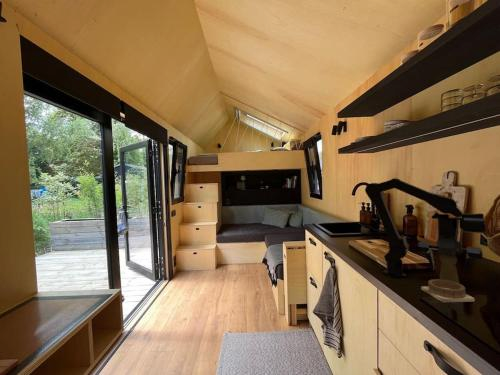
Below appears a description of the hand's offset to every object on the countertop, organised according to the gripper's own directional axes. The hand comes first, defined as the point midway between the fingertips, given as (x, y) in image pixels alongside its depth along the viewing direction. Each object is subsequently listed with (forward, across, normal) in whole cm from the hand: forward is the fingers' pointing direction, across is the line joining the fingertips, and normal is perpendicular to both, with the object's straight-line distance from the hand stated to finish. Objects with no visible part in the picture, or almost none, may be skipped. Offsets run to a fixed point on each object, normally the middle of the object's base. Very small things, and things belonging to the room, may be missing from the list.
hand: (448, 272), depth 93 cm
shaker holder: (+4, 0, -12) cm, 13 cm away
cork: (+4, 0, 0) cm, 4 cm away
